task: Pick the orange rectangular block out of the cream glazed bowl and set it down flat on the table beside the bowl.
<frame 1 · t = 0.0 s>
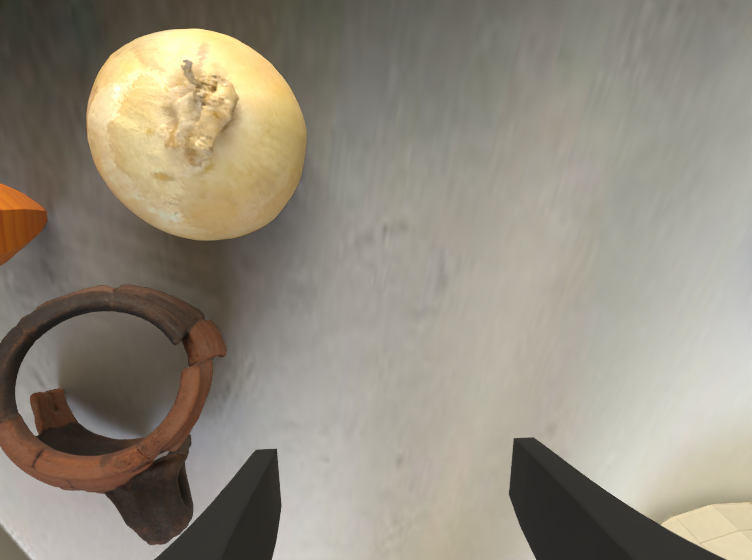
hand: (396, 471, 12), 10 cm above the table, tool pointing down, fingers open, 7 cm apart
carrot: (45, 213, 20), on the table
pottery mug: (156, 379, 22), on the table
onion: (228, 147, 19), on the table
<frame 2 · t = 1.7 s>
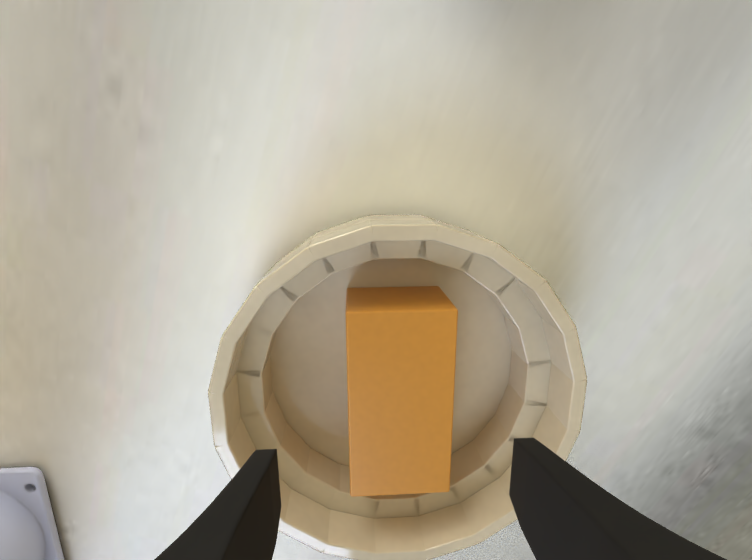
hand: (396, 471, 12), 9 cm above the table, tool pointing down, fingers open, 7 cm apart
orange rectangular block: (392, 368, 20), point 1 cm above the table, touching bowl
bowl: (391, 363, 21), on the table
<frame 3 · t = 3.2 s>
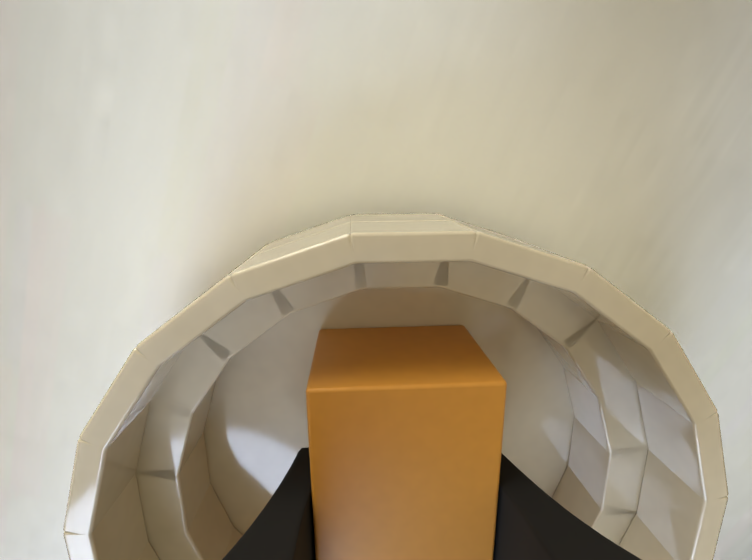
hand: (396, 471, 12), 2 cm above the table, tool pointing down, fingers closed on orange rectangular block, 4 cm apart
orange rectangular block: (392, 448, 13), point 1 cm above the table, touching bowl, gripper
bowl: (391, 436, 14), on the table
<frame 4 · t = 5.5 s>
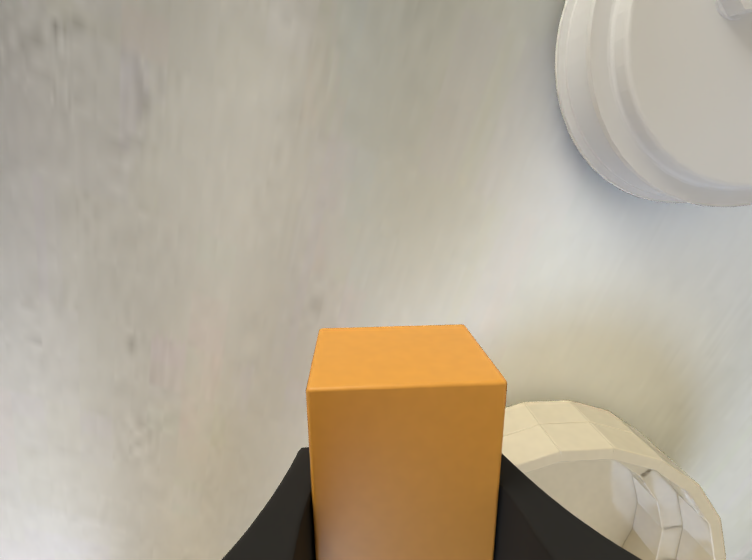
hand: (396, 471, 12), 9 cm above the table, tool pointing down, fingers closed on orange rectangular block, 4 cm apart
orange rectangular block: (392, 447, 13), point 8 cm above the table, touching gripper
lid: (681, 57, 18), on the table
bowl: (528, 511, 24), on the table
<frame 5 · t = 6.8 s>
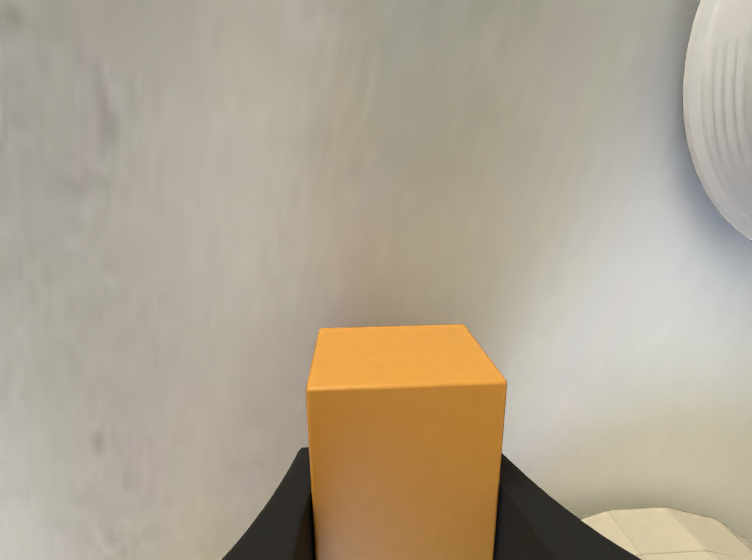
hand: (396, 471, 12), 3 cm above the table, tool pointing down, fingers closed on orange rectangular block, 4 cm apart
orange rectangular block: (392, 447, 13), point 2 cm above the table, touching gripper
when the fingers open (1 cm above the table, at t = 7.8 s): orange rectangular block stays where it is, on the table.
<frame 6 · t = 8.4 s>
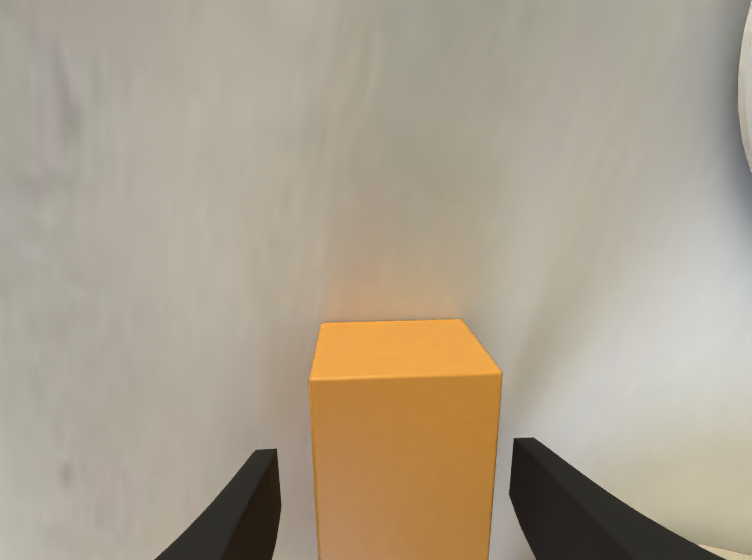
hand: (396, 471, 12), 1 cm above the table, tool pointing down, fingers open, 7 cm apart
orange rectangular block: (391, 439, 14), on the table
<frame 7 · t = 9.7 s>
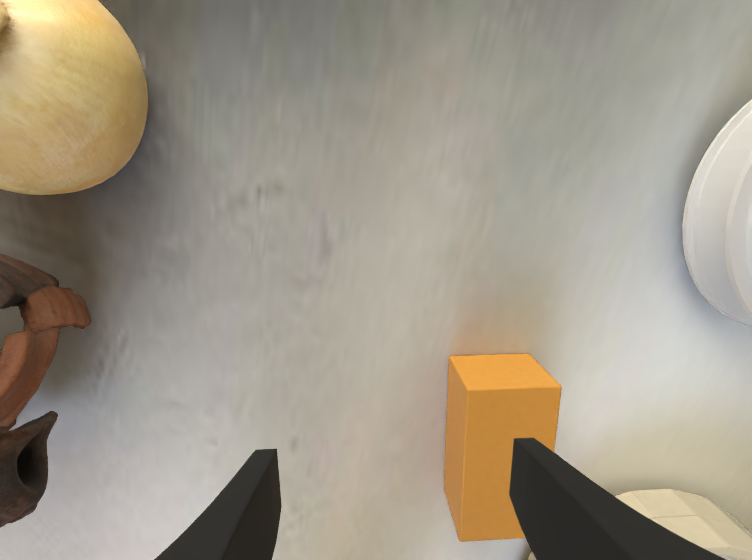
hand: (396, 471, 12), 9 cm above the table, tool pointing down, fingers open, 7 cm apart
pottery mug: (23, 355, 20), on the table
orange rectangular block: (484, 423, 23), on the table
onion: (80, 99, 18), on the table
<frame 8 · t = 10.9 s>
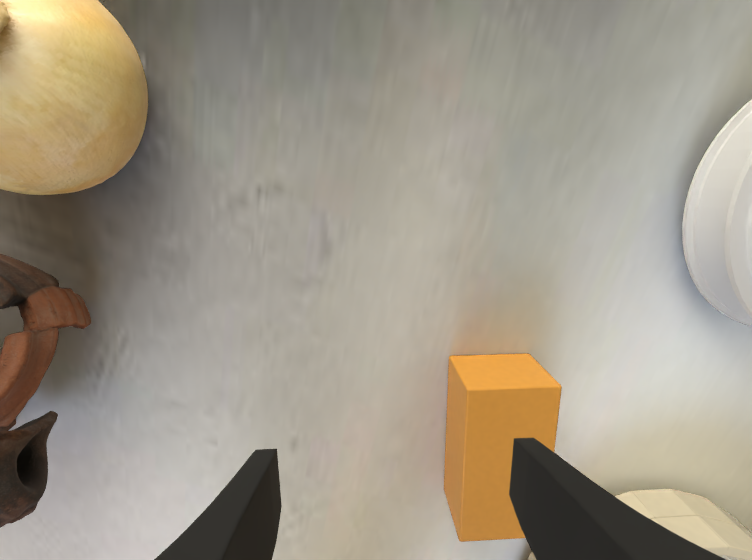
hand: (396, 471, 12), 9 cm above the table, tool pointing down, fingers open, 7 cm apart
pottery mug: (23, 355, 20), on the table
orange rectangular block: (484, 423, 23), on the table
onion: (80, 99, 18), on the table
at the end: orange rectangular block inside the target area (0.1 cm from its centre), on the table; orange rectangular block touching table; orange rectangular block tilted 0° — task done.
